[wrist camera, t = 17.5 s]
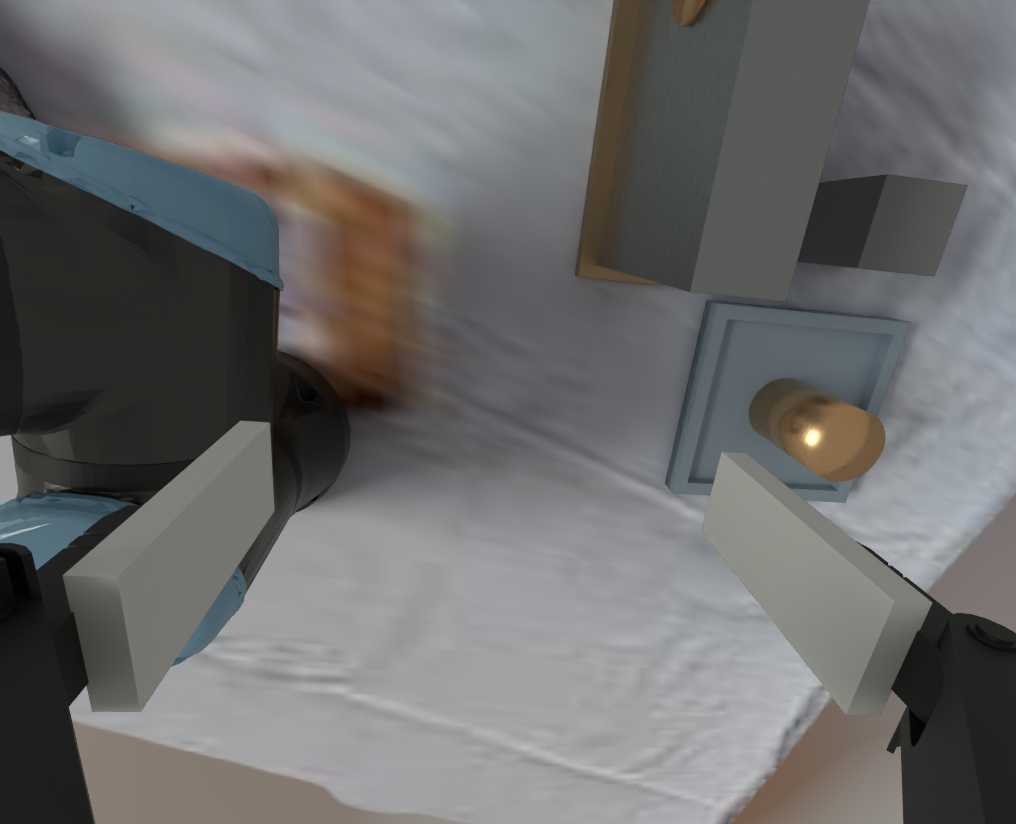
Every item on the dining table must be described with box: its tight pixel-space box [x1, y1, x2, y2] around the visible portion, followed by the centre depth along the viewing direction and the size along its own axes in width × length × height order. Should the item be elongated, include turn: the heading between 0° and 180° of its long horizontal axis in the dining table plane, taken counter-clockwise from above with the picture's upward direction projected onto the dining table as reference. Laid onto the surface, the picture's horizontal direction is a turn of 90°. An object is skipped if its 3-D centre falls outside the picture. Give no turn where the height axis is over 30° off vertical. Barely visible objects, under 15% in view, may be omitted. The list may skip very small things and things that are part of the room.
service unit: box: [575, 0, 870, 301], centre depth 31 cm, size 24×8×20 cm, turn 174°
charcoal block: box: [797, 174, 968, 276], centre depth 40 cm, size 6×6×9 cm
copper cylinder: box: [749, 378, 885, 482], centre depth 44 cm, size 6×6×9 cm
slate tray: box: [665, 300, 911, 503], centre depth 48 cm, size 18×18×2 cm
